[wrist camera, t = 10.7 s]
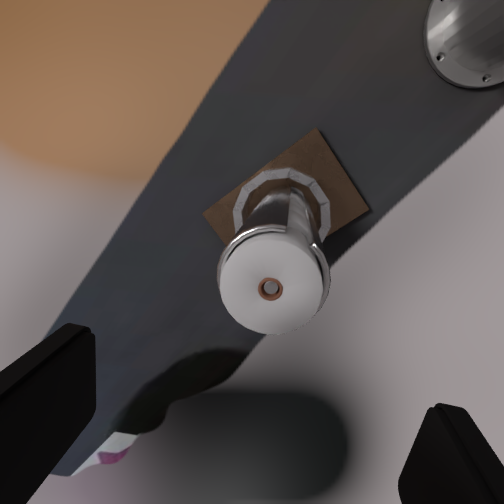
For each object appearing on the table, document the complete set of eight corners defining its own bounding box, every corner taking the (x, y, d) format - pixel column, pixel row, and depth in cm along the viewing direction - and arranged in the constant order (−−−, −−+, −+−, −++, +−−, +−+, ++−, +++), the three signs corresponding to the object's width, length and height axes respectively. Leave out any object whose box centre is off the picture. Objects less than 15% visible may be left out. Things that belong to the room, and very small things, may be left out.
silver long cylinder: (319, 219, 40) (355, 310, 16) (275, 243, 42) (251, 357, 18) (294, 175, 39) (294, 204, 15) (250, 202, 40) (188, 265, 17)
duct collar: (315, 128, 38) (319, 122, 32) (366, 207, 40) (379, 216, 34) (205, 211, 43) (190, 220, 37) (255, 278, 45) (249, 297, 39)
